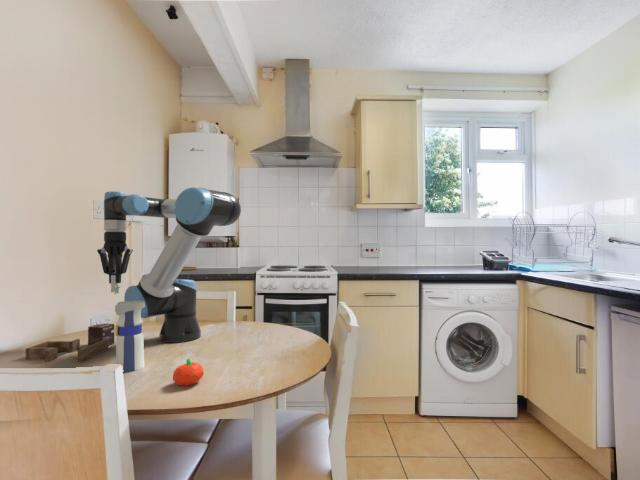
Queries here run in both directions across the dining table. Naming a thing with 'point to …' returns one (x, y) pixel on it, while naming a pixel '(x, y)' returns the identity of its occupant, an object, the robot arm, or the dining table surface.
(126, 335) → the water bottle
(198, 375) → the tomato
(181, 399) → the dining table surface
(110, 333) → the box
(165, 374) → the dining table surface
